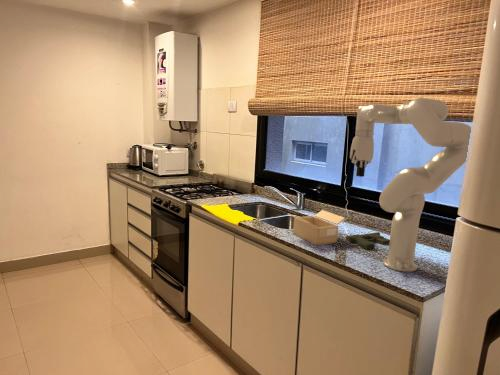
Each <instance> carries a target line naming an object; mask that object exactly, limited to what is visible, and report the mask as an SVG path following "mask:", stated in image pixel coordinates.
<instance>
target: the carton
mask: <svg viewBox="0 0 500 375" xmlns="http://www.w3.org/2000/svg"><path fill="white" fill-rule="evenodd" d="M298 217H299V218H301V219H304V220H306V221H308V222H311V223H313V224H315V225H317V227H316V226H313V225H311V224H309V223H306V222H304V221H301V220H299V219H296V218H294V217H293V218H294V220H293V229H292V230H293V231H292V233H293V234H292V235H294V236H296V237H298V238H300V239H303V240H304V241H307V242H308V243H311V244H313V245H314V246H321V245H322V246H323V245H328V244H336V243H338V237H339V236H338V234H339V225H336V224H334V223H331V222H328V221H326V220H323V219H321V218H318V217H315V216H313V215H311V216H309V215H308V216H307V215H306V216H298Z"/></svg>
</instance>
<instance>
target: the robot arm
mask: <svg viewBox="0 0 500 375" xmlns="http://www.w3.org/2000/svg"><path fill="white" fill-rule="evenodd" d="M448 115H449V106H448V105H447V104H446V103H445V101H442V100H440V99H434V98H426V97H418V98H416V99H413V100H410V101H404V102H403V103H402V104H401V105H387V104H377V103H374V104H373V103H372V104H369V105H360V106H359V107H358V108H357V113H356V124H355V136H354V137H353V139H352V143H351V146H350V151H349V159H350V160H351V163H352V164H354V165H355V167H356V174H355V175H356V177H359V178H361V177H362V178H363V177H365V172H366V168H367V165H368V164H371V163H372V160H373V158H374V149H375V147H374V146H375V144H374V143H375V142H374V141H375V140H374V134H375V133H374V131H375V130H374V129H375V124H386V125H387V124H388V125H412V127H413V128H414V129H415V130H416V132H417V133H418V134H419V135H420V136H421V138H422V140H424V142H426V143H427V144H428V145H430V146H431V147H436V148H444V149H442V150H441V151H439V152H438V153H436V154H435V155H434V156H432V158H431V159H430V160H429V161H428V162H427V163H426V164H425V165H423V166H420V167H407V168H404V169H402V170H401V171H399V172H398V173H397V174H396V175H395V176H394V178H392V180H391V181H389V183H388V184H387V185H386V186H385V187H384V189H383V190H382V191H381V193H380V196H379V199H378V200H379V202H378V203H379V206H380V208H381V209H382V210H383V211H385V212H387V213H394V215H393V217H392V220H391V227H390V233H389V234H390V237H389V240H390V242H389V244H388V245H389V246H388V252H387V257H386V258H384V259H382V264H383V266H385V267H386V268H389V269H391V270H395V271H399V272H404V273H408V272H409V273H412V272H415V271H417V270H418V265H417V264H416V263H415V262H414V261H415V252H416V245H417V240H418V239H417V238H418V231H419V227H420V226H419V225H420V219H421V215H422V212H423V210H424V206H425V201H426V200H425V199H426V198H425V195H428V194H431V193H434V192H436V191H437V189H439V187H441V185H443V184H444V183H445V182H446V181H447V180H448V179H449V178H451V177H452V175H453V174H454V173H455V172H456V171H458V170H459V169H460V168H461V167H462V166H463V165H464V164H465V163H466V162H467V161H466V158H467V152H468V145H469V139H470V133H471V127H472V126H470V125H469V124H466V123H463V122H458V121H448V120H447V121H446V120H445V119H447V117H448Z"/></svg>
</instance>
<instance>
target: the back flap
mask: <svg viewBox="0 0 500 375" xmlns="http://www.w3.org/2000/svg"><path fill="white" fill-rule="evenodd" d="M314 217H316V218H318V219H321V220H324V221H326V222H329V223H332V224H334V225H337V226H339V224H340V223H342V222H343V221H344V220H346V218H345V217H344V216H340V215H338V214H335V213H333V212H330V211H326V210H323V209H322V210H320V211H319V212H318V213H316V214H315V215H314Z"/></svg>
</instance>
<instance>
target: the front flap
mask: <svg viewBox="0 0 500 375" xmlns="http://www.w3.org/2000/svg"><path fill="white" fill-rule="evenodd" d="M287 215H288V216H290V217H293V218H296V219H299V220H301V221H304V222H306V223H309V224H311V225H313V226H316V227H317V225H315V224H313V223H311V222H308V221H306V220H304V219H301V218H299V217H300V216H296V215H294V214H290V213H287Z"/></svg>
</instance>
